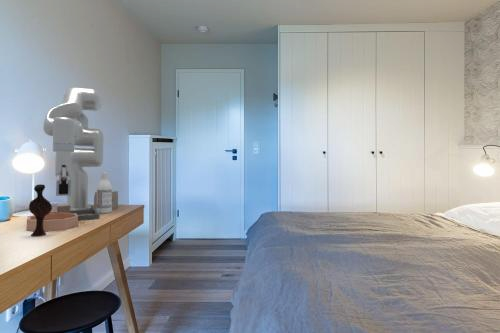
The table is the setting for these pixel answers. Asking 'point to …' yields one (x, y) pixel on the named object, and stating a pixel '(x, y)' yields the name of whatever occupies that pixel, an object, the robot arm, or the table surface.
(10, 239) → the table surface
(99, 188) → the bath foam
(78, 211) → the tray
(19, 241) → the table surface
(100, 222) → the table surface
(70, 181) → the grey sharp-edged cuboid
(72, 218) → the bowl
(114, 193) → the fossil
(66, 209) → the greyish beige block
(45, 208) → the figurine
